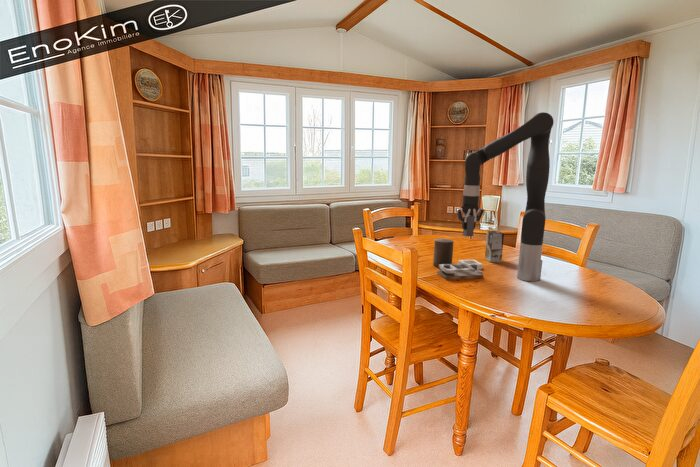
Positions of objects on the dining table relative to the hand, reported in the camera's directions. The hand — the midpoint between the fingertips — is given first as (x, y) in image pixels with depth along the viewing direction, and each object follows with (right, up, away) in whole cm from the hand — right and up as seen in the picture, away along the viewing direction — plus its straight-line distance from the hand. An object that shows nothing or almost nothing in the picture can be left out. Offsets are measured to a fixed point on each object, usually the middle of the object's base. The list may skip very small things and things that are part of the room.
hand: (468, 229), depth 184 cm
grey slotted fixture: (-5, -22, -4) cm, 23 cm away
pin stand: (+4, -20, +11) cm, 23 cm away
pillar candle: (-10, -19, +13) cm, 25 cm away
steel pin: (0, -3, +1) cm, 3 cm away
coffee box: (+21, -17, +24) cm, 36 cm away
